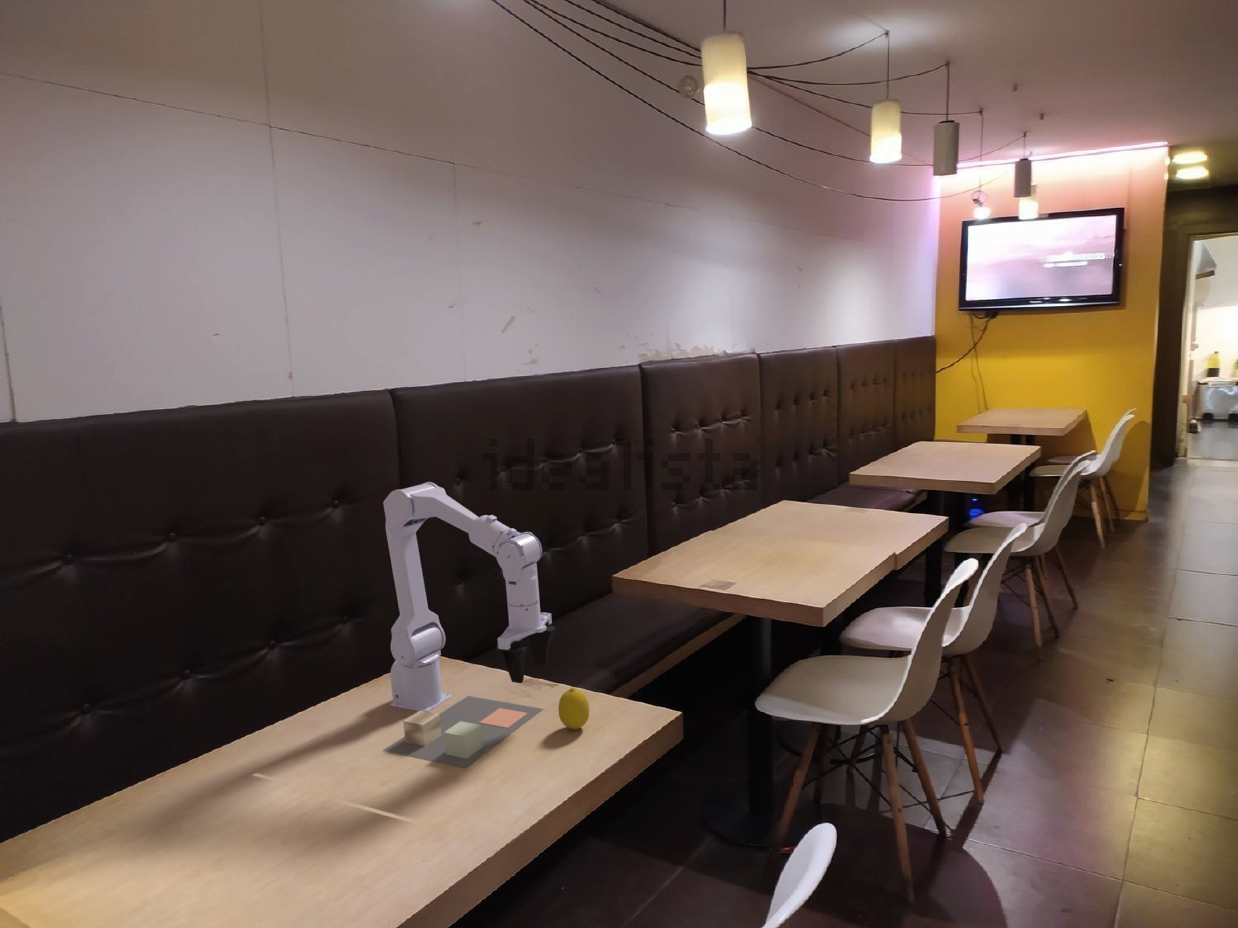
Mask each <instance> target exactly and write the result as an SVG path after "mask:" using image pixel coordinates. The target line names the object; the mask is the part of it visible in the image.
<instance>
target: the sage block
mask: <svg viewBox="0 0 1238 928" xmlns="http://www.w3.org/2000/svg"><path fill="white" fill-rule="evenodd" d="M444 739H445V749H446V754H447V755H452V756H456V757H461V758H465V759H467V758H469V757H470V756H471V755H473V754H474V753H475V752H477V751H478V750H480V749H481V748H482V747H483V741H482V730H481V725H478V724H472V723H467V722H462V721H460V722H458V723H457V724H455V725H454V726H453V727H451V728H450V729H448V730H447V731H445V732H444Z"/></svg>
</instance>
